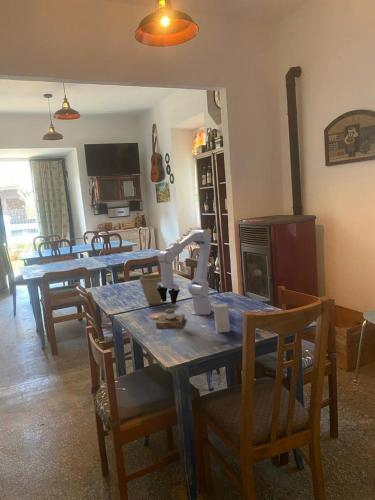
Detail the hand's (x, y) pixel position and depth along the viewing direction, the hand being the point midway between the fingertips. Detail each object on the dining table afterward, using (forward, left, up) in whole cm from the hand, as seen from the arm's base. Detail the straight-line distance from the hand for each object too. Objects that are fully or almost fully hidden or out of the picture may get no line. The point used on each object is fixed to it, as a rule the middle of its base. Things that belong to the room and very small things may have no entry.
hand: (169, 302), depth 186 cm
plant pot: (+17, -38, -11) cm, 43 cm away
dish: (+9, -11, -11) cm, 18 cm away
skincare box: (-26, +12, -11) cm, 31 cm away
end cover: (0, 0, -11) cm, 11 cm away
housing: (0, 0, -11) cm, 11 cm away
